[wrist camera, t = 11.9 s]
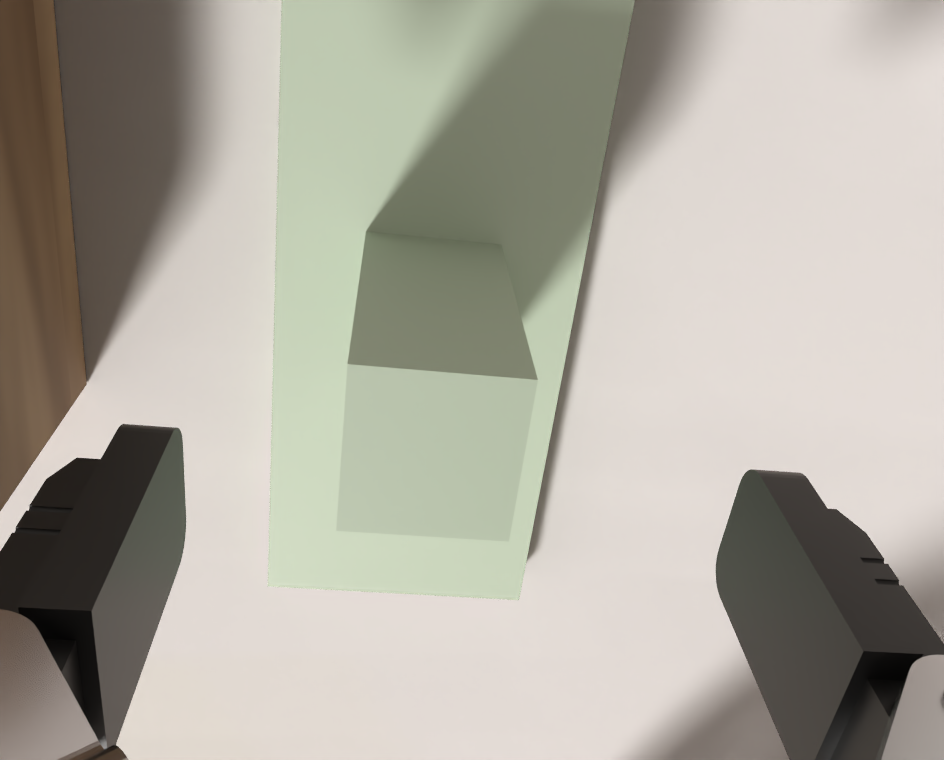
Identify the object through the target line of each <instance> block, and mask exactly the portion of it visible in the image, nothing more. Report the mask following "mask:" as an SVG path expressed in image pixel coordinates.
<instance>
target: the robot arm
mask: <svg viewBox="0 0 944 760" xmlns="http://www.w3.org/2000/svg"><path fill="white" fill-rule="evenodd" d="M185 532H186V508H185V485H184V462H183V442H182V435H181V431H180V429H179V428H171V427H157V426H143V425H129V424H123V425H121V426H120V427H119V428H118V430H117V431H116V433H115V435H114V437H113V439H112V440H111V442H110V444H109V446H108V448H107V449H106V451H105V453H104V455H103V456H102V458H101V459H88V458H76V459H74V460H73V461H72V462H70V463H69V464H67V465H66V466H65V467H63V468H62V469H60V470H59V471H57V472H56V473H55V474H53V475H52V476H50V477H49V478H47V479H46V481H45V482H44V484H43V485H42V487H41V488H40V490H39V492H38V493H37V495H36V496H35V498H34V499H33V501H32V503H31V504H30V508H29V511H26V512H25V514H24V515H23V517H22V518H21V520H20V521H19V523H18V525H17V526H16V531H15V533H12V534H11V536H10V537H9V539H8V540H7V542H6V543H5V545H4V547H3V548H2V550H1V551H0V760H128V758H127V757H126V755H125V754H124V753H123V751H122V750H121V749H120V748H119V747H118V746H116V742H117V739H118V737H119V734H120V731H121V728H122V725H123V723H124V720H125V717H126V714H127V711H128V709H129V706H130V703H131V700H132V697H133V694H134V692H135V689H136V686H137V683H138V680H139V678H140V675H141V672H142V669H143V666H144V664H145V661H146V658H147V655H148V652H149V649H150V647H151V644H152V641H153V638H154V635H155V633H156V630H157V627H158V624H159V621H160V619H161V616H162V613H163V610H164V607H165V605H166V602H167V599H168V596H169V593H170V590H171V588H172V585H173V582H174V579H175V576H176V574H177V571H178V568H179V565H180V562H181V558H182V553H183V548H184V541H185ZM716 582H717V588H718V592H719V595H720V598H721V600H722V603H723V605H724V607H725V610H726V612H727V614H728V617H729V619H730V621H731V624H732V626H733V628H734V631H735V633H736V635H737V638H738V640H739V642H740V645H741V647H742V649H743V652H744V654H745V656H746V659H747V661H748V663H749V666H750V668H751V670H752V673H753V675H754V677H755V680H756V682H757V684H758V687H759V689H760V691H761V694H762V696H763V698H764V701H765V703H766V705H767V708H768V710H769V712H770V715H771V717H772V719H773V722H774V724H775V726H776V729H777V731H778V733H779V735H780V738H781V740H782V742H783V745H784V747H785V749H786V752H787V754H788V756H789V759H790V760H944V644H943V642H942V641H941V639H940V638H939V637H938V635H937V634H936V632H935V631H934V629H933V628H932V627H931V625H930V624H929V622H928V621H927V620H926V618H925V617H924V615H923V614H922V612H921V611H920V610H919V608H918V607H917V605H916V604H915V602H914V601H913V600H912V598H911V597H910V595H909V594H908V592H907V591H906V590H905V588H904V587H903V586H900V585H899V580H898V578H897V577H896V575H895V574H894V572H893V571H892V570H891V568H890V567H889V565H888V564H884V558H883V557H882V555H881V554H880V552H879V551H878V550H877V548H876V547H875V545H874V544H873V542H872V541H871V540H870V538H869V537H868V535H867V534H866V533H865V532H864V531H863V530H862V529H860V528H859V527H858V526H857V525H855V524H854V523H853V522H852V521H850V520H849V519H848V518H847V517H845V516H844V515H843V514H842V513H840V512H839V511H838V510H837V509H827V507H826V506H825V504H824V503H823V501H822V500H821V498H820V497H819V495H818V494H817V492H816V491H815V489H814V488H813V486H812V485H811V483H810V482H809V480H808V479H807V478H806V476H805V475H803V474H801V473H794V472H779V471H765V470H749V471H747V472H746V473H745V474H744V476H743V478H742V479H741V482H740V485H739V488H738V491H737V494H736V497H735V500H734V503H733V507H732V510H731V513H730V516H729V519H728V522H727V526H726V529H725V532H724V535H723V538H722V541H721V544H720V548H719V551H718V555H717V561H716Z"/></svg>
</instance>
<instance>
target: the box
mask: <svg viewBox="0 0 944 760" xmlns="http://www.w3.org/2000/svg"><path fill="white" fill-rule="evenodd" d="M86 384H87V383H86V371H85V360H84V348H83V337H82V325H81V313H80V302H79V290H78V278H77V267H76V255H75V244H74V232H73V220H72V209H71V197H70V186H69V174H68V162H67V151H66V139H65V128H64V116H63V104H62V93H61V81H60V69H59V58H58V46H57V35H56V23H55V11H54V0H0V511H1V509H2V508H3V507H4V505H5V504H6V502H7V501H8V499H9V498H10V496H11V495H12V493H13V492H14V490H15V489H16V487H17V486H18V484H19V483H20V481H21V480H22V479H23V477H24V476H25V474H26V473H27V471H28V470H29V468H30V467H31V465H32V464H33V462H34V461H35V459H36V458H37V456H38V455H39V453H40V452H41V451H42V449H43V448H44V446H45V445H46V443H47V442H48V440H49V439H50V437H51V436H52V434H53V433H54V431H55V430H56V428H57V427H58V426H59V424H60V423H61V421H62V420H63V418H64V417H65V415H66V414H67V412H68V411H69V409H70V408H71V406H72V405H73V403H74V402H75V400H76V399H77V398H78V396H79V395H80V393H81V392H82V390H83V389H84V387H85V386H86Z"/></svg>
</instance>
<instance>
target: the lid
mask: <svg viewBox="0 0 944 760" xmlns="http://www.w3.org/2000/svg"><path fill="white" fill-rule="evenodd" d="M634 3H635V0H282V8H281V50H280V92H279V134H278V176H277V218H276V260H275V302H274V344H273V386H272V428H271V470H270V512H269V554H268V586H269V587H287V588H306V589H324V590H342V591H361V592H379V593H397V594H416V595H434V596H452V597H471V598H489V599H507V600H519V597H520V592H521V587H522V581H523V576H524V571H525V566H526V561H527V556H528V550H529V545H530V540H531V535H532V530H533V525H534V519H535V514H536V509H537V504H538V499H539V494H540V488H541V483H542V478H543V473H544V468H545V463H546V457H547V452H548V447H549V442H550V437H551V432H552V426H553V421H554V416H555V411H556V406H557V401H558V395H559V390H560V385H561V380H562V375H563V370H564V364H565V359H566V354H567V349H568V344H569V339H570V333H571V328H572V323H573V318H574V313H575V308H576V302H577V297H578V292H579V287H580V282H581V277H582V271H583V266H584V261H585V256H586V251H587V246H588V240H589V235H590V230H591V225H592V220H593V215H594V209H595V204H596V199H597V194H598V189H599V184H600V178H601V173H602V168H603V163H604V158H605V153H606V147H607V142H608V137H609V132H610V127H611V122H612V116H613V111H614V106H615V101H616V96H617V91H618V85H619V80H620V75H621V70H622V65H623V60H624V54H625V49H626V44H627V39H628V34H629V29H630V23H631V18H632V13H633V8H634Z"/></svg>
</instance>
